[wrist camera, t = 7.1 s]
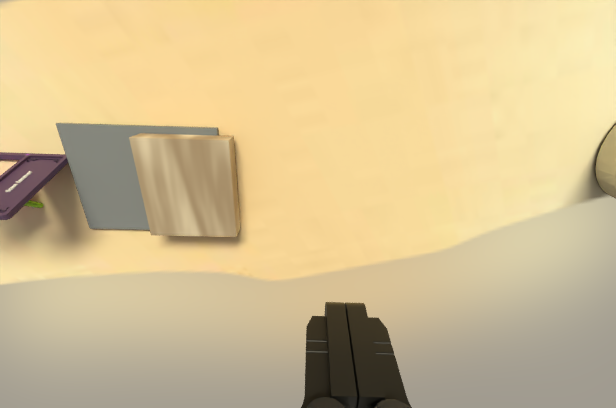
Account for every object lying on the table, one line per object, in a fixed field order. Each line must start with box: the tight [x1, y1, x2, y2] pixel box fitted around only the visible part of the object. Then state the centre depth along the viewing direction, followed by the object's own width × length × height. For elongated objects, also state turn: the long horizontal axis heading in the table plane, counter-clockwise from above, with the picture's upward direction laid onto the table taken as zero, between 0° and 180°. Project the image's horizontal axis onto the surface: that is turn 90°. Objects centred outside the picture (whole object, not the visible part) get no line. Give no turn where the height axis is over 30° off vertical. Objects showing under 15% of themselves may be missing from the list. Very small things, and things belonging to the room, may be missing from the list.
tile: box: [129, 133, 240, 237], centre depth 23 cm, size 2×8×7 cm
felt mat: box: [56, 123, 219, 230], centre depth 24 cm, size 12×9×1 cm
